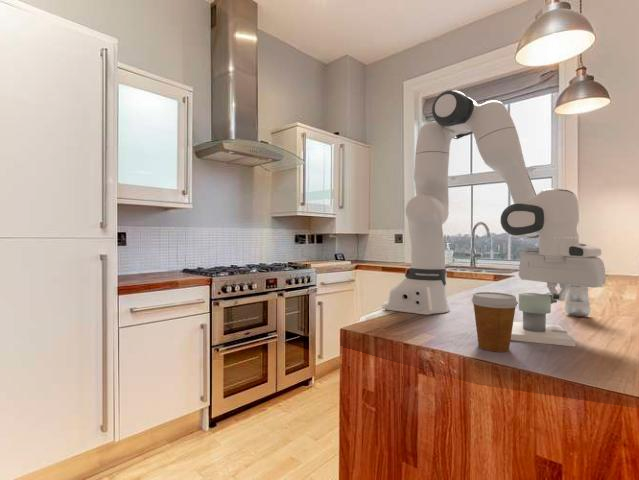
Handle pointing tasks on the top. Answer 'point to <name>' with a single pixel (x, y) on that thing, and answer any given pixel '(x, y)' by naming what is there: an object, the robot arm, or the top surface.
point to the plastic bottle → (577, 301)
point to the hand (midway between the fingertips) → (558, 300)
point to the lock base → (540, 331)
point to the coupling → (536, 303)
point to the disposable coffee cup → (494, 319)
